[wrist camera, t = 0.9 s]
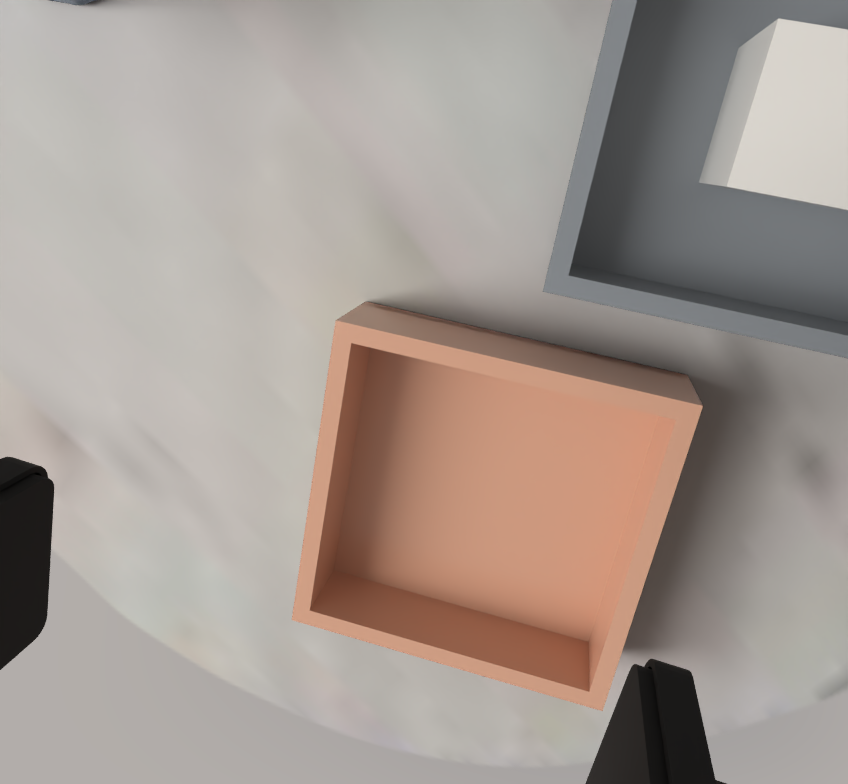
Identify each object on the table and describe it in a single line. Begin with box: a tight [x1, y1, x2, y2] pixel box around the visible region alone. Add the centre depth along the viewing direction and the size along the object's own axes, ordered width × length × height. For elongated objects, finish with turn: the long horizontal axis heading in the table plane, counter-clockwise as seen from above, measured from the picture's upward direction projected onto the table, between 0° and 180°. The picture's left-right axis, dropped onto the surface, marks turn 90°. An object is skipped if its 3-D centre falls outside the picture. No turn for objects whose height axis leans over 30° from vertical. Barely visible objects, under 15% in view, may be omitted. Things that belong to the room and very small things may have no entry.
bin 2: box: [543, 0, 848, 358], centre depth 27 cm, size 15×15×4 cm
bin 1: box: [292, 302, 703, 711], centre depth 34 cm, size 15×15×4 cm
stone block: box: [699, 18, 848, 211], centre depth 25 cm, size 5×5×6 cm
